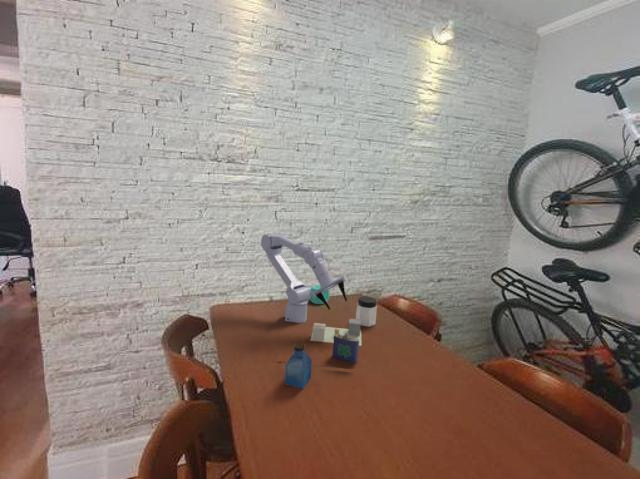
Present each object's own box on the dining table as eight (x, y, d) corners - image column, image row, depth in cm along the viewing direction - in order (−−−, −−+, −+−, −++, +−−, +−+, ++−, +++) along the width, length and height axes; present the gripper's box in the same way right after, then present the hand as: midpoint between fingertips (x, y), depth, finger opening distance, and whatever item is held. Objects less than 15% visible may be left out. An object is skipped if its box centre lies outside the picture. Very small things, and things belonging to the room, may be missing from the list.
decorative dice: (317, 298, 181) (318, 284, 180) (329, 301, 177) (330, 287, 176) (308, 301, 175) (309, 287, 174) (320, 305, 170) (321, 290, 169)
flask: (358, 362, 117) (360, 334, 115) (356, 366, 114) (358, 337, 113) (333, 356, 120) (335, 328, 119) (330, 360, 118) (332, 332, 116)
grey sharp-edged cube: (348, 334, 136) (349, 323, 136) (348, 329, 141) (349, 318, 140) (359, 335, 136) (360, 324, 135) (359, 330, 140) (360, 319, 140)
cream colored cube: (312, 339, 130) (312, 327, 129) (313, 334, 135) (314, 323, 134) (323, 340, 130) (324, 328, 129) (324, 335, 134) (325, 324, 133)
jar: (366, 330, 144) (368, 303, 142) (352, 324, 150) (353, 298, 148) (378, 325, 150) (380, 299, 148) (364, 319, 156) (366, 294, 154)
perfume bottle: (310, 378, 106) (312, 343, 104) (303, 389, 100) (305, 352, 98) (292, 373, 108) (294, 339, 106) (284, 384, 102) (286, 347, 100)
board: (309, 342, 130) (310, 333, 129) (314, 327, 143) (315, 319, 143) (361, 348, 128) (362, 338, 127) (361, 332, 141) (361, 323, 141)
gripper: (306, 282, 133) (321, 312, 130) (338, 265, 134) (354, 295, 130) (308, 284, 140) (322, 313, 137) (338, 268, 141) (353, 297, 137)
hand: (338, 305), depth 134 cm, fingers open, 7 cm apart
